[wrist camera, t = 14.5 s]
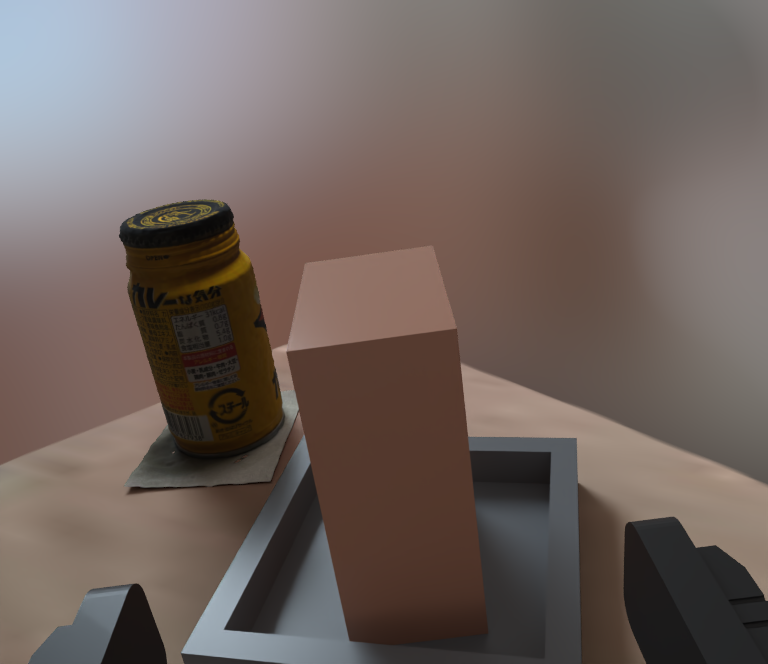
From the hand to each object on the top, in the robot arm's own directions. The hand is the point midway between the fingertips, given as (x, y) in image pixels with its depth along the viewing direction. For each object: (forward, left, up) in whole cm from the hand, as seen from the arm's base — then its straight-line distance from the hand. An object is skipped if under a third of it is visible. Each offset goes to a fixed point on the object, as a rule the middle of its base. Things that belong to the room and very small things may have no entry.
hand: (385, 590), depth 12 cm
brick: (-3, +11, -10) cm, 15 cm away
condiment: (-15, +20, -11) cm, 27 cm away
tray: (-3, +11, -11) cm, 16 cm away
